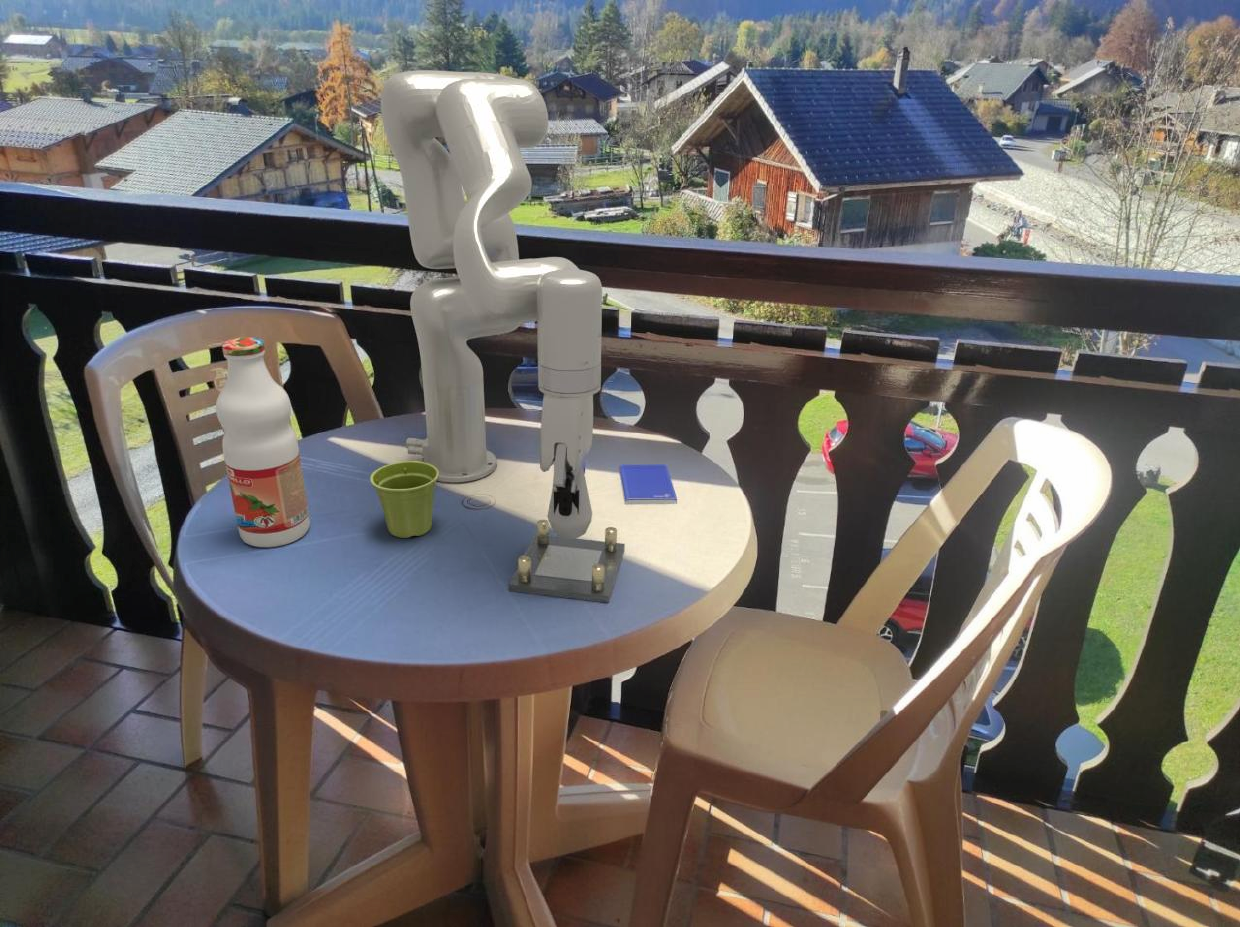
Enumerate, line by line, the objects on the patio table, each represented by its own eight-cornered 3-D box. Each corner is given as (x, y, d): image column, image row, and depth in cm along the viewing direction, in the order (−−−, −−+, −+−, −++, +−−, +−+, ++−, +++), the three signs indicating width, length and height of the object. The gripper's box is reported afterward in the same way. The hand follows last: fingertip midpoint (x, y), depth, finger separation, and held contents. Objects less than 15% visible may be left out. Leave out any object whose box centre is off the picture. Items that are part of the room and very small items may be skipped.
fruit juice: (321, 534, 115) (293, 344, 103) (254, 556, 109) (216, 358, 97) (295, 509, 121) (265, 328, 109) (230, 529, 116) (191, 340, 104)
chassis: (508, 590, 104) (507, 564, 102) (534, 540, 115) (534, 515, 114) (608, 602, 102) (609, 576, 100) (624, 549, 114) (625, 525, 112)
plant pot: (362, 537, 115) (355, 482, 111) (400, 508, 123) (395, 456, 119) (419, 550, 112) (414, 495, 108) (454, 519, 120) (451, 467, 116)
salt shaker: (542, 524, 107) (540, 434, 102) (582, 517, 109) (583, 428, 104) (556, 545, 103) (555, 452, 97) (598, 537, 105) (600, 445, 99)
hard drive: (677, 498, 126) (667, 464, 137) (625, 498, 125) (619, 464, 137) (677, 506, 127) (666, 472, 138) (625, 507, 126) (618, 472, 137)
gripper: (554, 353, 105) (556, 481, 113) (520, 396, 90) (524, 539, 98) (611, 358, 104) (609, 486, 112) (586, 402, 89) (585, 545, 97)
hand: (569, 509), depth 105 cm, fingers closed on salt shaker, 3 cm apart
